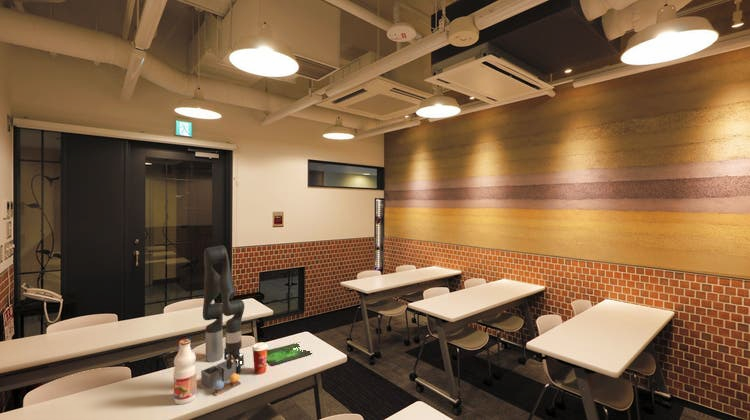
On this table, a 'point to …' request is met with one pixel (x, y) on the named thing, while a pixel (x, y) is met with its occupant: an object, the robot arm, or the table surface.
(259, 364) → the coffee cup
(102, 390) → the table surface
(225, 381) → the card
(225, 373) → the tube
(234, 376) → the orange ball
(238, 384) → the walnut seat rail
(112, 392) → the table surface
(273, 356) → the mouse mat
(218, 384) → the blue ball
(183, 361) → the fruit juice
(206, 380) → the tube
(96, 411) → the table surface
